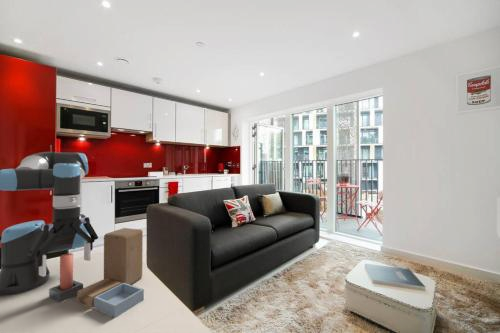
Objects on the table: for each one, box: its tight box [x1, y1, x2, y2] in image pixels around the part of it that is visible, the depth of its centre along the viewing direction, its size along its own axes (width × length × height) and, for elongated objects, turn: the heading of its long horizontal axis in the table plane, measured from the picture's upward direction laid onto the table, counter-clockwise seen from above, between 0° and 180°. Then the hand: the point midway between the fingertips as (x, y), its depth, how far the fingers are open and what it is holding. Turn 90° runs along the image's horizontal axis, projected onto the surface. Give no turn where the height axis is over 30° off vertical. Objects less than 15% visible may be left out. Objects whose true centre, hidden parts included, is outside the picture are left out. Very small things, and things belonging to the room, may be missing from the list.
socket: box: [48, 279, 84, 304], centre depth 80 cm, size 7×7×3 cm
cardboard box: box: [76, 278, 121, 309], centre depth 79 cm, size 8×10×4 cm
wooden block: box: [103, 227, 144, 285], centre depth 89 cm, size 10×10×20 cm
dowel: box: [59, 252, 74, 291], centre depth 80 cm, size 4×4×14 cm
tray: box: [93, 283, 145, 318], centre depth 75 cm, size 10×10×4 cm
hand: (66, 267), depth 80 cm, fingers open, 13 cm apart
